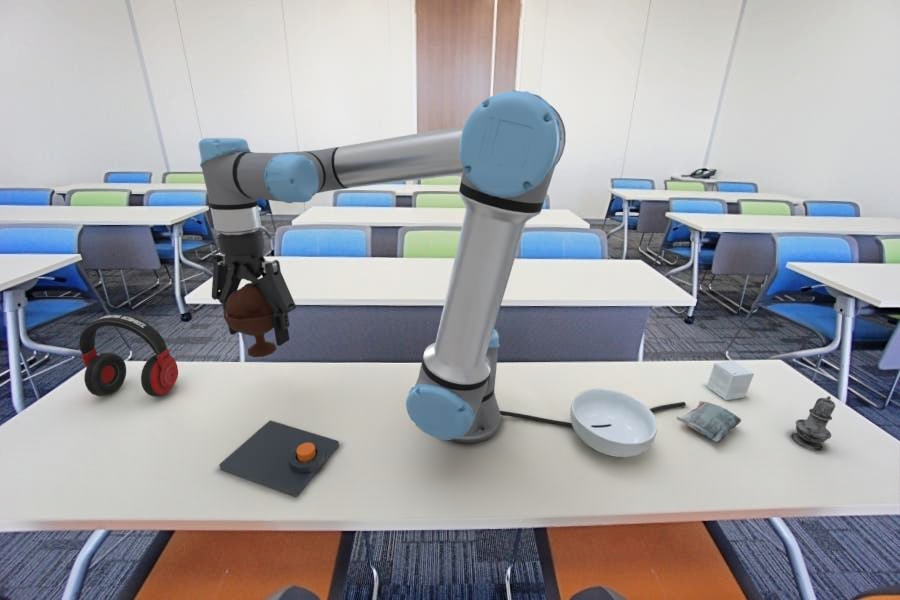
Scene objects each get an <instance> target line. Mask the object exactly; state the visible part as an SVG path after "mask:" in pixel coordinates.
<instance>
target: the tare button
mask: <svg viewBox="0 0 900 600" xmlns="http://www.w3.org/2000/svg"><path fill="white" fill-rule="evenodd" d="M315 455H316V453H315V446H314V444H312V443H303V444H301V445H300V446H299V447H298V448H297V457H298V460H299V461H300V462H309V461H311V460H312V459H313V458H314V457H315Z"/></svg>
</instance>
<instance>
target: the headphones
mask: <svg viewBox="0 0 900 600" xmlns="http://www.w3.org/2000/svg"><path fill="white" fill-rule="evenodd" d="M108 326H109V327H117V328H121V329H124V330H127V331H129V332H131V333H134V334H135V335H137V336H138V337H140V338H141V339H143V340H144V341H145V342H146V343H147V344H148V346H149V347H150V348H151V350H153V353H155V354H153V355H151V357H149V358H148V359H147V360H146V362H145V363H144V364H143V367H142V370H141V373H140V384H141V387H142V389H143V391H144V392H145V393H146V394H147V395H148V396H149V397H150V396H151V397H162V396H165V395H167V393H169V392H170V391H171V390H172V389H173V387H174V386H175V384H176V382H177V380H178V377H179V368H178V364H177V361H176V360H175V359H174V357H173V356H172V355H171V353H170V349H169V348H168V347H167V344H166V342H165V339H164V338H163V336H162V335H161V333H159V331H158V330H156V328H154V327H153V326H152V325H151V324H149V323H148V322H147V321H145V320H144V319H143V320H142V319H140V318H139V317H136V316H133V315H131V314H127V313H110V314H105V315H103V316H101V317H98V318H97V319H95V320H94V321H92V322H90V323H89V324H87V325H86V326H85V327H84V328H83V329H82V330H81V333H80V335H79V339H78V344H79V345H78V347H79V351H80V353H81V355H80V357H81V359H82V361H83V364H84V366H85V372H84V375H83V379H84V380H83V381H84V385H85V387H86V389H87V391H88V392H89V393H90V394H92V395H94V396H96V397H107V396H112V395H113V394H115V393H116V392H118V390H119V389H120V388H121V387H122V386H123V385H124V382H125V379H126V376H127V365H126V362H125V360H124V359H123V357H121V355H120V354H118V353H114V352H104V353H100V354H98V353H97V350H96V349H97V348H96V347H95V346H96V345H95V343H96V335H97V331H98V330H99V329H101V328H103V327H108Z"/></svg>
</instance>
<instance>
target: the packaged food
mask: <svg viewBox="0 0 900 600" xmlns="http://www.w3.org/2000/svg"><path fill="white" fill-rule="evenodd" d="M676 419H677V421H679V422H682V423H683V424H684V425H685V426H687V427H689V428H691V429H693V430H694V431H696V432H698V433H699V434H701V435H703V436H705V437H706V438H708V439H709V440H711V441H712V442H715V443H720V442H721V440H722V439H724V437H725V436H726V435H727V434H728V433H729V432H730V431H731V430H733V429H734V428H736V427H737V426H738V425H739V424H740V423H741V422H742V418H741V417H739V416H738V415H736V414H734V413H733V412H731V411H730V410H729V409H727V408H724V407H722V406H720V405H717V404H714V403H711V402H708V401H703V400H700V401H698V405H697V406H696V407H695V408H694V409H691V411H689V412H687V413H685V414H683V415H681V416H676Z"/></svg>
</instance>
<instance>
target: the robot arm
mask: <svg viewBox="0 0 900 600" xmlns="http://www.w3.org/2000/svg"><path fill="white" fill-rule="evenodd" d="M566 135H567V133H566V128H565V124H564V121H563V119H562V117H561V115H560V113H559V112H558V111H557V109H555V107H554V106H553V105H551V104H550V103H549V102H548V101H547V100H546V99H544V98H543V97H541V96H540V95H538V94H535V93H532V92H529V91H526V90H525V91H520V90H516V89H515V90H506V91H503V92H499V93H496V94H494V95H491V96H489V97H488V98H487V99H484V100H483V101H482V102H481V103H480V104H478V105H477V106H476V107H475V108H474V109H473V110H472V112H471V113H470V115H469V116H468V117H467V120H466V121H465V123H464V125H459V126H453V127H447V128H443V129H442V128H441V129H436V130H429V131H425V132H419V133H412V134H406V135H401V136H400V135H399V136H395V137H389V138H383V139H378V140H371V141H366V142H365V141H364V142H360V143H354V144H348V145H342V146H336V147H335V146H334V147H330V148H324V149H316V150H315V149H314V150H306V151H305V150H302V151H285V152H253V151H251V149H250V148H249V143H248V141H247V140H246V139H244V138H239V137H204V138H201V139H200V140H199V141H198V145H197V146H198V154H199V161H200V164H199V166H200V168H201V170H202V175H203V180H204V184H205V188H206V193H207V197H208V202H209V206H210V212H211V217H212V224H213V228H214V230H215V231H216V232H217V234H215V237H216V240H217V246H218V250H219V252H218V253H215V254H212V255H211V260H212V261H211V262H212V266H213V270H212V282H211V283H212V285H211V298H212V300H214V301H215V300H218V301H219V304H221V305H222V311H223V310H225V309H226V302H227V299H228V297H229V296H230V295H231V294H232V293H233V292H235V291H237V290H239V287H240V284H241V282H242V280H246V281H248V282H250V283H252V284H253V285H254V286H257V287H258V289H259V290H260V292H261V293H262V295H263V296H264V298H265V299H266V301H267V302H268V304H269V305H270V307H271V308H272V309H273V311H274V312H275V314H273V315H272V320H273V325H274V328H273V331H274V337H275V343H276V346H279V347H281V346H282V345H284V344H285V343H287V342H288V341H290V334H289V327H290V320H289V313H291V312H292V311H294V310H296V309H297V305H296V303H295V300H294V299H293V296H292V294H291V292H290V289H289V287H288V284H287V282H286V281H285V278H284V276H283V274H282V270H281V264H280V261H279V260H277V259H274V260H272V261H270V260H266V259H265V256H264V250H265V248H266V244H265V237H264V231H263V230H262V229H261V227H262V221H261V216H260V215H261V214H260V208H259V200H264V201H271V202H272V201H273V202H282V203H286V204H294V203H308V202H309V201H311V200H312V199H313V197H314V196H315V195H316V194H320V193H324V192H325V193H326V192H330V191H339V190H347V189H351V188H360V187H369V186H379V185H387V184H394V183H401V182H402V183H403V182H412V181H419V180H428V179H436V178H445V177H454V176H461V179H460V184H459V188H458V195H459V197H460V198H461V199H462V201H463V203H464V205H465V207H466V209H465V212H464V217H463V221H462V226H461V230H460V234H459V239H458V242H457V243H458V244H457V247H456V252H455V256H454V261H453V264H452V269H451V274H450V278H449V282H448V286H447V291H446V295H445V299H444V304H443V308H442V312H441V316H440V322H439V326H438V329H437V334H436V339H435V341H434V342H432V343H430V344H428V346H427V347H426V348H425V349H424V352H423V356H422V361H421V365H420V368H419V373H418V377H417V380H416V382H415V385H414V386H412V387H411V388H410V390H409V392H408V396H407V397H406V402H405V407H406V412H407V414H408V416H409V419H410V420H411V421H412V422H413V423H414V424H415V426H416V427H417V428H418V429H419V430H420V431H422V432H423V433H425V434H426V435H428V436H430V437H433V438H435V439H439V440H444V441H445V440H446V441H451V442H455V443H458V444H477V443H481V442H484V441H486V440H489V439H490V438H492V437H493V436H494V435H495V434H496V433H497V432H498V430H499V428H500V423H501V416H504V417H510V418H516V419H523V420H528V421H533V422H537V423H542V424H548V425H552V426H553V425H554V426H560V427H566V428H573V425H572V422H569V421H562V420H556V419H550V418H544V417H540V416H534V415H530V414H525V413H518V412H511V411H505V410H500V408H499V404H498V400H497V398H496V393H495V386H496V378H497V377H496V376H497V366H498V356H499V348H500V336H499V333H498V331H497V330H496V329H495V326H496V322H497V319H498V316H499V314H500V313H499V312H500V310H501V306H502V303H503V300H504V297H505V296H504V295H505V292H506V289H507V287H508V282H509V280H510V276H511V272H512V270H513V267H514V264H515V259H516V256H517V253H518V250H519V246H520V243H521V240H522V237H523V233H524V230H525V226H526V223H527V222H528V221H529V220H531V219H533V218H535V217H536V216H538V215H540V214H541V212H542V209H543V207H544V204H545V200H546V197H547V194H548V191H549V187H550V184H551V182H552V178H553V175H554V172H555V169H556V166H557V165H558V163H559V162H560V160H561V159H562V156H563V154H564V150H565V147H566V137H567V136H566ZM279 306H280V308H279ZM227 326H228V330H229V335H233V336H234V335H235V334H237V333H238V332H237V331H235V330H233V329H231V328H230V326H229V325H228V324H227ZM686 406H687V403H686V402H685V401H679V402H675V403H668V404H662V405H658V406H654V407H652V408H648V409H649V410H650V411H651V412H652V413H653V414H654V413H656V412H659V411H663V410H667V409H668V410H669V409H674V408H675V409H676V408H681V407H686ZM609 426H611V424H607V425H592V426H591V427H594V428H602V427H609ZM573 429H574V428H573Z"/></svg>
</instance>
